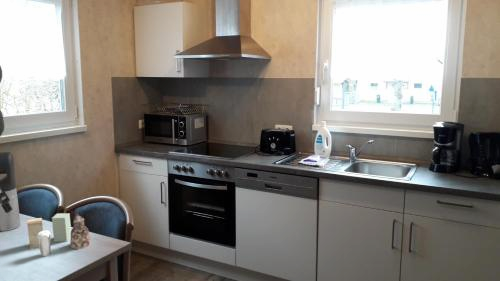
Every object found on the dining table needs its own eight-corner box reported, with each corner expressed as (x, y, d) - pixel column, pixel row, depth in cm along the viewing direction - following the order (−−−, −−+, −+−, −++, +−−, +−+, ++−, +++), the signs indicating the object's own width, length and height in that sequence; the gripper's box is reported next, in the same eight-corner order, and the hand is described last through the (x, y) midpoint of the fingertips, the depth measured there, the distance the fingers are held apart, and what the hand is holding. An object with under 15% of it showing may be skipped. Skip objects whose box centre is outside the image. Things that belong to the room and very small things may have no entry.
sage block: (59, 236, 168) (56, 213, 167) (71, 236, 169) (69, 213, 167) (54, 241, 164) (51, 218, 162) (66, 241, 164) (64, 217, 162)
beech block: (29, 244, 162) (27, 220, 160) (44, 241, 164) (41, 217, 162) (30, 248, 157) (27, 224, 155) (44, 246, 160) (42, 222, 158)
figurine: (70, 250, 156) (67, 220, 154) (70, 242, 163) (68, 214, 160) (90, 247, 159) (88, 217, 156) (90, 239, 165) (87, 211, 163)
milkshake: (37, 253, 154) (34, 228, 152) (52, 250, 155) (50, 226, 154) (35, 258, 149) (32, 232, 148) (51, 256, 151) (49, 230, 149)
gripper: (1, 167, 132) (23, 207, 140) (-17, 159, 141) (5, 197, 148) (-22, 180, 127) (2, 220, 135) (-40, 171, 136) (-16, 209, 143)
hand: (3, 208), depth 142 cm, fingers open, 8 cm apart
